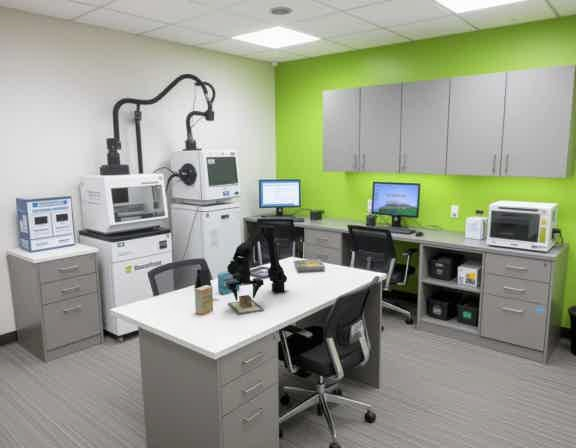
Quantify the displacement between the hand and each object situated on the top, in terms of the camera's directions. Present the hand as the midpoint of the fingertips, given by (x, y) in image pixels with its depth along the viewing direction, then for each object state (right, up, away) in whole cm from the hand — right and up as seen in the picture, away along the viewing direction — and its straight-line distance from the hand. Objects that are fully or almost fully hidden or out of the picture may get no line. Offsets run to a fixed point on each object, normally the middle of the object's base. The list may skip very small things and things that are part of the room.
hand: (245, 299), depth 236 cm
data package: (-12, 0, +28) cm, 30 cm away
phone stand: (-28, +1, +35) cm, 45 cm away
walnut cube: (0, -4, +1) cm, 4 cm away
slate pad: (0, -4, +1) cm, 4 cm away
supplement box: (-20, -6, -6) cm, 22 cm away
